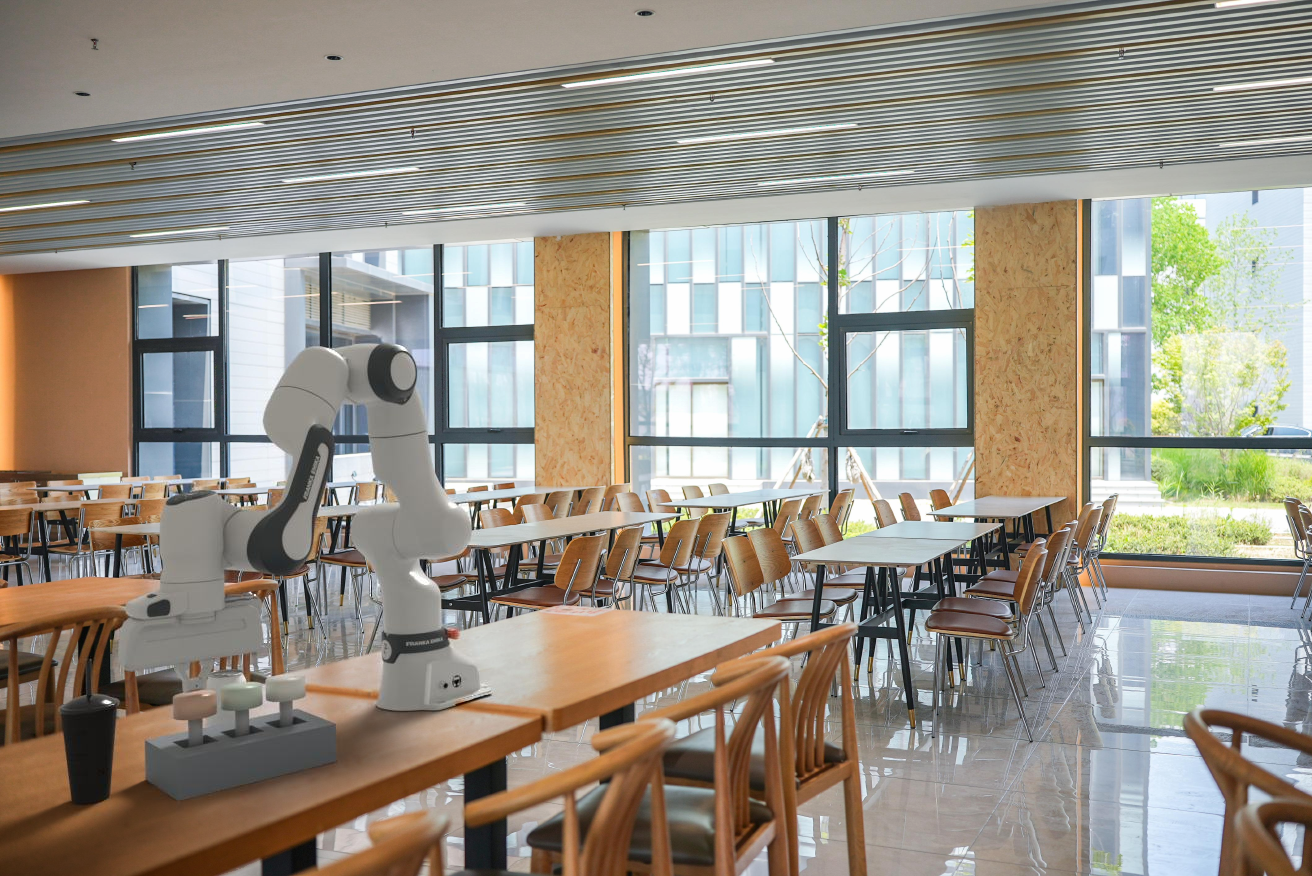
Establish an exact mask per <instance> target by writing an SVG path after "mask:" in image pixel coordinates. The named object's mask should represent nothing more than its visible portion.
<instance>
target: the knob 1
mask: <svg viewBox="0 0 1312 876" xmlns="http://www.w3.org/2000/svg"><path fill="white" fill-rule="evenodd" d="M216 713H217V692H216V691H212V690H201V691H194V692H189V693H184V692H182V693H180V692H179V693H178V694H175V695H173V696H172V718H173V720H175V721H187V731H188V748H189V747H194V746H199V745H203V728H204V726H203V722H204V721H203V719H206V718H207V717H210V716H213V715H215V714H216Z"/></svg>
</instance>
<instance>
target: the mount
mask: <svg viewBox="0 0 1312 876" xmlns="http://www.w3.org/2000/svg"><path fill="white" fill-rule="evenodd" d="M337 749H338V748H337V723H335V722H333V721H330V720H328V719H325V718H323V717H320V716H317V715H314V714H313V713H309V712H307V711H304V710H301V709H299V708H295V709H294V708H293V725H291V726H287V727H282V728H280V712H276V713H269V714H266V715H265V714H264V715H259V716H256V717H249V735H245V736H240V737H236V733H235V722H230V723H225V724H220V725H215V726H210V727H206V726H205V727H203V745H199V746H194V747H189V748H188V730H187V731H182V732H176V733H173V734H168V735H161V736H157V737H153V738H148V739H144V755H145V756H144V762H145V763H144V765H145V766H144V770H145V772H144V774H145V776H144V777H145V780H146V781H147V780H148V781H147V782H149V783H150V782H151V783H150V784H152V785H153V784H154V785H153V786H154V787H156V786H157V787H156V788H158V789H159V790H161V791H162V792H164V793H165V794H166V795H168V796H170V797H171V798H173V800H175V801H177V802H180V801H184V800H187V799H188V800H189V799H193V798H195V797H201V796H204V794H205V795H208V793H209V794H212V793H211V792H213V793H216V792H215V791H217V792H219V791H218V790H221V791H224V789H225V790H229V789H232V788H236V787H242V786H244V785H248V784H252V783H255V782H256V783H257V782H261V781H264V780H269V779H272V778H277V777H280V776H285V775H289V774H293V773H297V772H300V771H305V770H309V769H313V768H317V767H320V765H321V766H324V765H323V764H325V765H329V764H332V762H333V763H337V762H336V761H338V754H337V753H338V752H337V751H338V750H337ZM328 763H329V764H328ZM316 766H317V767H316ZM312 767H313V768H312ZM200 795H201V796H200Z"/></svg>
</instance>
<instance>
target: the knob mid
mask: <svg viewBox="0 0 1312 876" xmlns="http://www.w3.org/2000/svg"><path fill="white" fill-rule="evenodd" d="M263 698H264V697H263V683H262V682H259V681H246V682H242V683H234V684H229V685H226V686H223V687H221V709H222V710H226V711H235V733H236V737H240V736H245V735H249V718H250V710H251V709H255V708H259V707H261V706H262V705H263V704H264V702H263Z"/></svg>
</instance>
